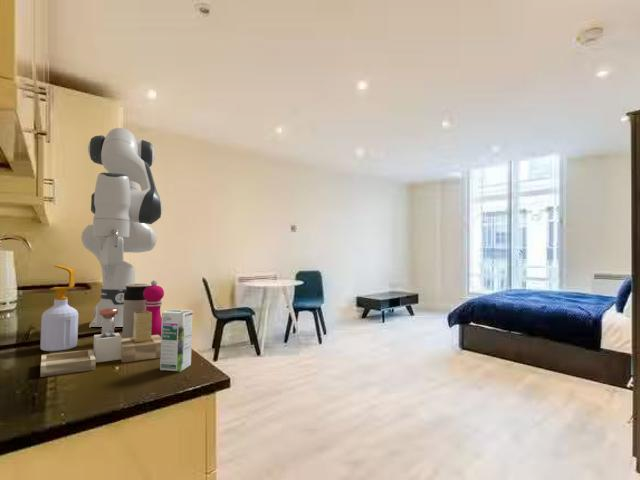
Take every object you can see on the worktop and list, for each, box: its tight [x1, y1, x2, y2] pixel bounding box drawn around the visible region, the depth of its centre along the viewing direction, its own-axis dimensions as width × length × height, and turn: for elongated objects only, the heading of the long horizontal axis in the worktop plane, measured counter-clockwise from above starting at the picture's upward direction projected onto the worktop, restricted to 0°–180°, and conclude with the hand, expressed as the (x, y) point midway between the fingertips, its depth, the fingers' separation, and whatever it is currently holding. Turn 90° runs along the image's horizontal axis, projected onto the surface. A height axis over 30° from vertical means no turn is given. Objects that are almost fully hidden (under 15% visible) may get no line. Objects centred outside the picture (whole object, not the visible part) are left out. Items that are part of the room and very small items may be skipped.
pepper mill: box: [143, 279, 165, 337], centre depth 121 cm, size 7×7×20 cm
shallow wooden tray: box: [39, 348, 97, 378], centre depth 96 cm, size 11×11×2 cm
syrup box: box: [159, 309, 194, 373], centre depth 98 cm, size 6×6×14 cm
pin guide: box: [92, 332, 122, 363], centre depth 105 cm, size 6×6×6 cm
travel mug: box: [121, 282, 151, 338], centre depth 127 cm, size 8×8×18 cm
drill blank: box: [133, 311, 152, 343], centre depth 109 cm, size 4×4×12 cm
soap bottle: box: [39, 264, 79, 352], centre depth 114 cm, size 9×9×25 cm
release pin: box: [99, 308, 118, 338], centre depth 105 cm, size 4×4×9 cm
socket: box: [120, 335, 161, 363], centre depth 109 cm, size 11×11×4 cm
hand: (109, 281), depth 105 cm, fingers closed
